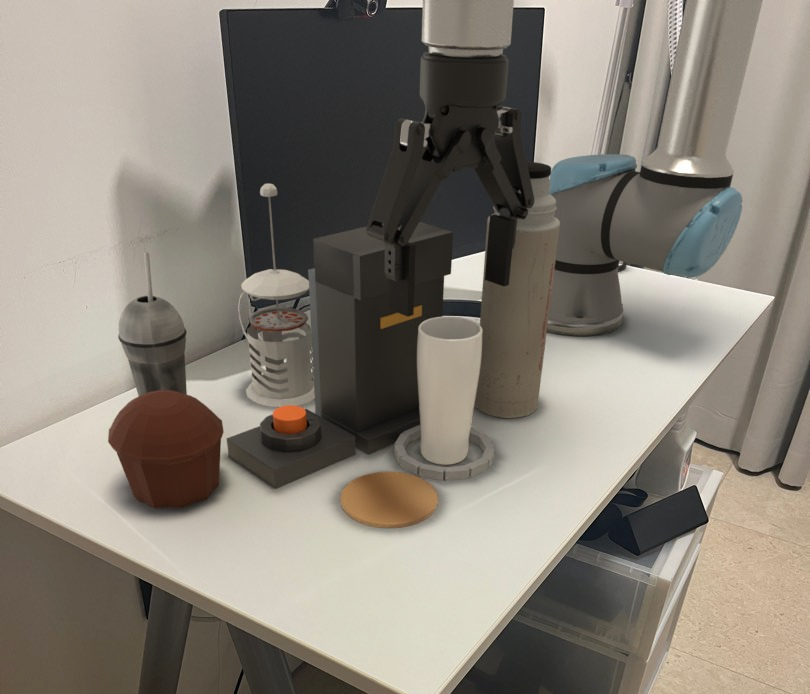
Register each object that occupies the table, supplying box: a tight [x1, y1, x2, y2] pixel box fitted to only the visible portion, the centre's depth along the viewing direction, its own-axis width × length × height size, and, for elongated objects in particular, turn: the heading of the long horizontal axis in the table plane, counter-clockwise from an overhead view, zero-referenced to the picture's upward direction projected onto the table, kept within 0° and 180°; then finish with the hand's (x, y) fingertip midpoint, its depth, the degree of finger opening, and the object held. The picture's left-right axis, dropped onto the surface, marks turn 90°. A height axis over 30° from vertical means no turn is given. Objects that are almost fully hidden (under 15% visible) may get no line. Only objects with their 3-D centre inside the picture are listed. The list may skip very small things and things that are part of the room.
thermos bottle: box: [474, 161, 560, 419], centre depth 96 cm, size 8×8×28 cm
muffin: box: [107, 390, 224, 509], centre depth 84 cm, size 12×11×10 cm
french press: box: [237, 183, 315, 408], centre depth 99 cm, size 10×12×25 cm
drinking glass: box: [417, 315, 483, 466], centre depth 89 cm, size 7×7×15 cm
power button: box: [272, 405, 307, 434], centre depth 90 cm, size 4×4×2 cm
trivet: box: [340, 471, 439, 529], centre depth 85 cm, size 10×10×1 cm
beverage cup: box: [117, 252, 188, 397], centre depth 92 cm, size 7×7×20 cm
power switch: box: [226, 408, 357, 489], centre depth 92 cm, size 11×9×4 cm
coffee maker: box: [307, 221, 496, 481], centre depth 90 cm, size 13×22×22 cm, turn 43°
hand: (451, 297), depth 83 cm, fingers open, 13 cm apart
